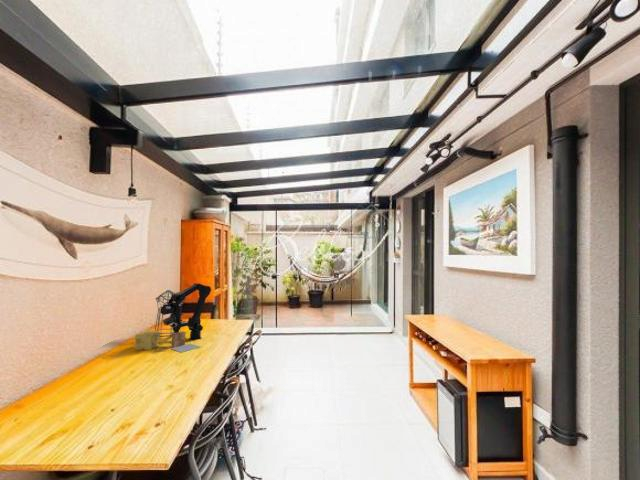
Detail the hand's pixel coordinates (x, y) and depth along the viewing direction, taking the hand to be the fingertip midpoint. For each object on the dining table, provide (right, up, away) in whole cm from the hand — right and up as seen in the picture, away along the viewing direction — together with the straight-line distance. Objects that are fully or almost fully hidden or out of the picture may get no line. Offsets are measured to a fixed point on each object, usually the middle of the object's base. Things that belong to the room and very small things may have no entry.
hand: (175, 335), depth 209 cm
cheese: (-16, -6, -7) cm, 19 cm away
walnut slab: (+3, -7, -2) cm, 7 cm away
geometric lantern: (-15, -7, +18) cm, 24 cm away
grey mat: (+10, -6, -7) cm, 14 cm away
